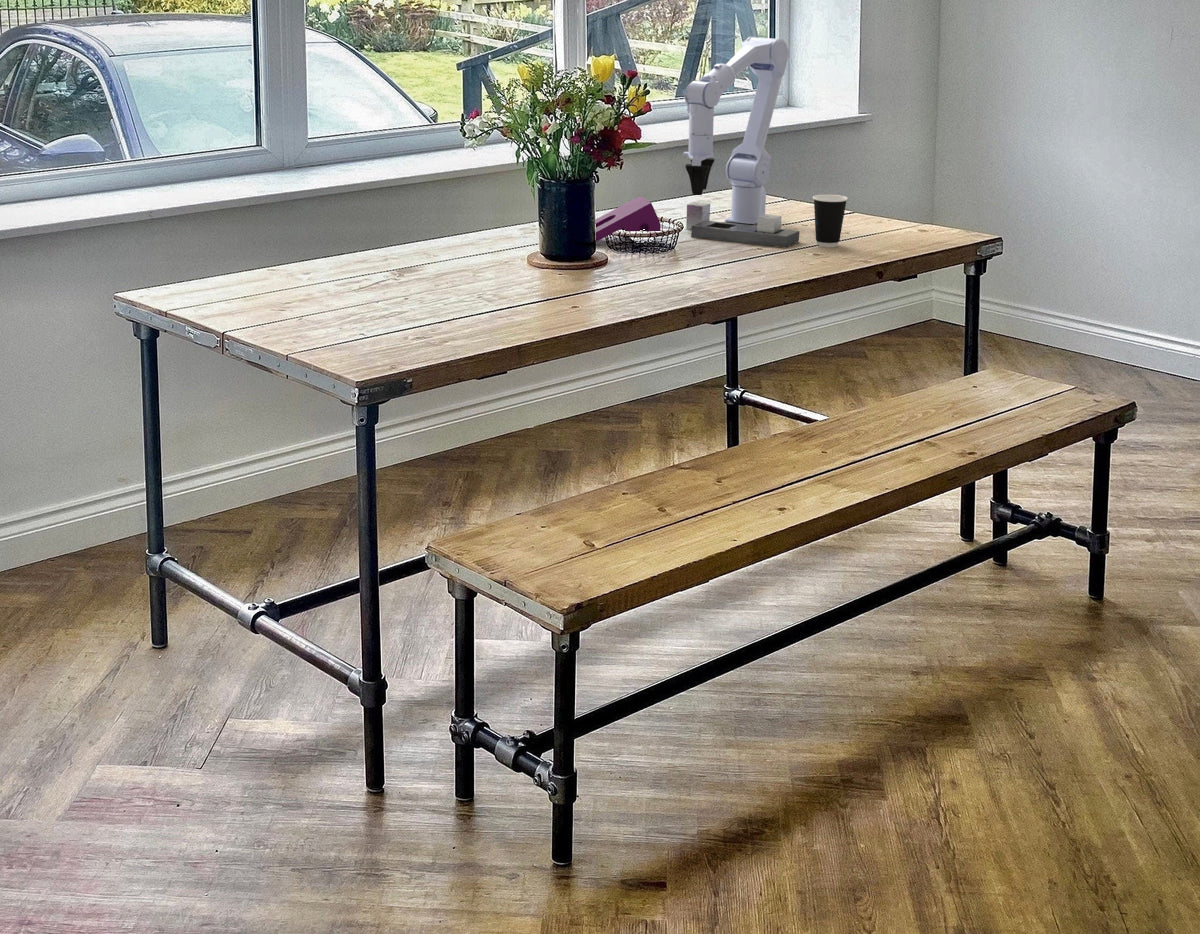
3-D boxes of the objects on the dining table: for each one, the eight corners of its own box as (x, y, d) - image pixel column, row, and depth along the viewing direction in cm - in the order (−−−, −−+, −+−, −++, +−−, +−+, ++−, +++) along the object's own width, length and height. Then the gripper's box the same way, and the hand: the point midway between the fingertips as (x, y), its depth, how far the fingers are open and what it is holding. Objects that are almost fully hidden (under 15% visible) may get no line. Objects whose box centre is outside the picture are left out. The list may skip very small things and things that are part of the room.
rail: (705, 231, 345) (705, 220, 344) (798, 241, 334) (799, 230, 333) (691, 236, 338) (691, 225, 337) (785, 247, 327) (786, 236, 326)
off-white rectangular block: (763, 239, 336) (764, 214, 334) (780, 241, 334) (781, 216, 332) (756, 242, 333) (757, 217, 330) (773, 244, 331) (774, 219, 328)
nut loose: (693, 226, 350) (694, 201, 348) (709, 228, 348) (710, 203, 346) (686, 229, 347) (686, 204, 345) (701, 231, 345) (702, 206, 343)
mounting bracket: (597, 271, 330) (665, 235, 331) (582, 239, 326) (651, 202, 327) (587, 262, 338) (654, 227, 339) (572, 231, 335) (640, 195, 336)
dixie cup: (851, 246, 330) (855, 198, 326) (826, 250, 325) (829, 201, 322) (828, 240, 336) (831, 193, 332) (802, 243, 332) (805, 196, 328)
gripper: (688, 129, 344) (686, 186, 348) (679, 137, 330) (678, 196, 335) (717, 130, 342) (715, 187, 347) (710, 138, 329) (708, 197, 334)
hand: (699, 192), depth 341 cm, fingers open, 7 cm apart
